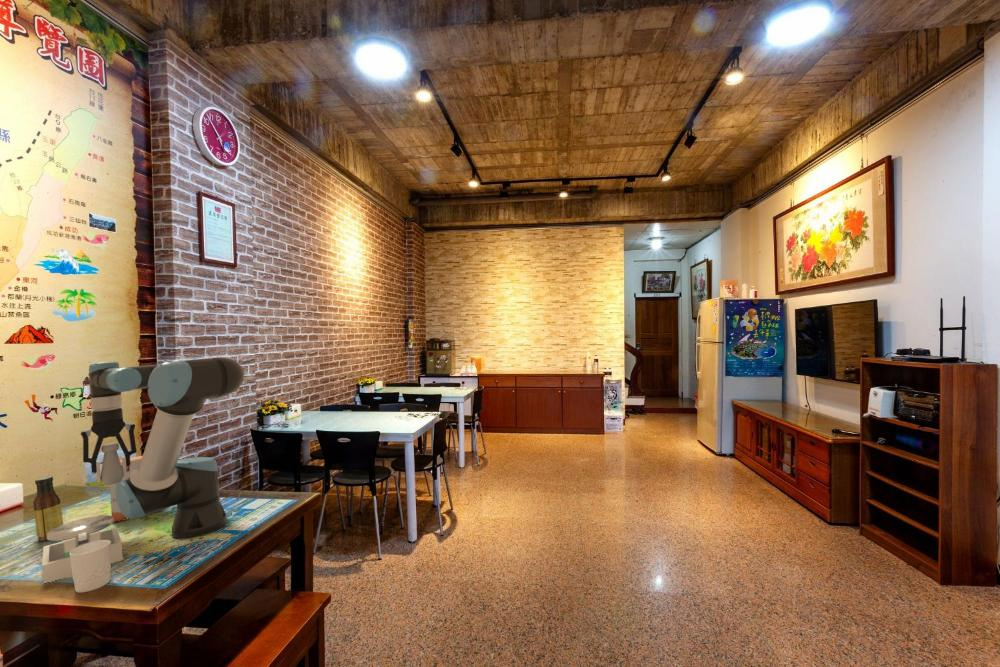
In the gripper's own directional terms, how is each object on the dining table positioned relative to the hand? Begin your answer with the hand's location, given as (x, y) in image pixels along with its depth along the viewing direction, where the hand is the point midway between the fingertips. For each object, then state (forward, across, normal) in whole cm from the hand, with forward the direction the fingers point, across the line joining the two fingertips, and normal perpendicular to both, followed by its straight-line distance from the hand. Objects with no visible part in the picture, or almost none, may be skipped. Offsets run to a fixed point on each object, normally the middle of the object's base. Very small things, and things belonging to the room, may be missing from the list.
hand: (112, 478), depth 146 cm
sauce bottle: (+18, +16, -14) cm, 28 cm away
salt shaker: (+2, 0, 0) cm, 2 cm away
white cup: (+19, +7, +37) cm, 42 cm away
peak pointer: (+10, +8, +27) cm, 30 cm away
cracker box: (+18, -7, -14) cm, 24 cm away
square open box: (+18, +8, +18) cm, 27 cm away
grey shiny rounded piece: (+14, +8, +19) cm, 25 cm away
